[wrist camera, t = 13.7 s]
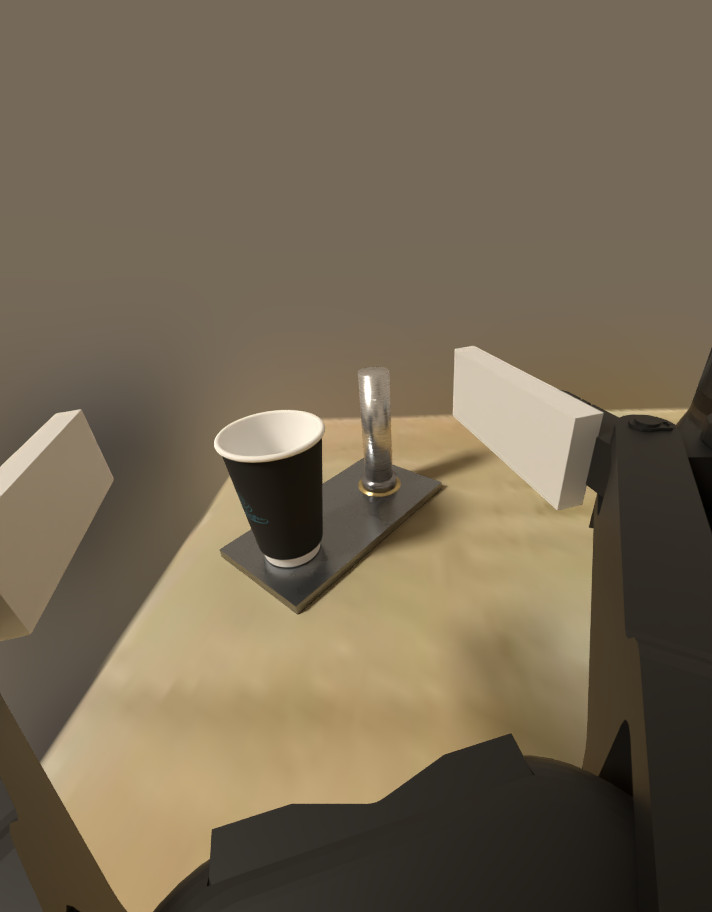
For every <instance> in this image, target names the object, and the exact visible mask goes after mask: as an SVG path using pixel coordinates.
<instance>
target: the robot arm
mask: <svg viewBox="0 0 712 912" xmlns="http://www.w3.org/2000/svg"><path fill="white" fill-rule="evenodd" d="M453 396H454V397H453V416H454V417H455V418H456V419H457V420H458V421H459V422H460V423H462V424H463V425H464V426H465V427H466V428H467V429H468V430H469V431H470V432H471V433H473V434H474V435H475V436H476V437H477V438H478V439H479V440H480V441H481V442H482V443H484V444H485V445H486V446H487V447H488V448H489V449H490V450H491V451H492V452H494V453H495V454H496V455H497V456H498V457H499V458H500V459H501V460H502V461H503V462H505V463H506V464H507V465H508V466H509V467H510V468H511V469H512V470H513V471H514V472H516V473H517V474H518V475H519V476H520V477H521V478H522V479H523V480H524V481H525V482H527V483H528V484H529V485H530V486H531V487H532V488H533V489H534V490H535V491H537V492H538V493H539V494H540V495H541V496H542V497H543V498H544V499H545V500H546V501H548V502H549V503H550V504H551V505H552V506H553V507H554V508H555V509H556V510H561V509H565V508H569V507H574V506H578V505H582V503H583V499H584V495H585V491H586V486H589V487H590V488H591V489H593V490H594V491H595V492H597V497H596V501H595V505H594V509H593V513H592V517H591V521H590V525H589V528H594V533H593V565H592V597H591V628H590V660H589V692H588V724H587V742H586V750H585V755H584V761H583V767H582V769H581V768H578V767H576V766H573V765H571V764H568V763H565V762H561V761H557V760H554V759H550V758H544V757H537V756H523V755H522V753H521V751H520V749H519V747H518V745H517V743H516V741H515V739H514V738H513V736H512V734H511V733H510V734H507V735H504V736H501V737H498V738H495V739H492V740H489V741H486V742H482V743H479V744H476V745H473V746H470V747H467V748H464V749H461V750H458V751H455V752H451V753H448V754H445V755H443V756H442V757H440V758H439V759H438V760H436V761H435V762H433V763H432V764H431V765H429V766H428V767H427V768H425V769H424V770H422V771H421V772H420V773H418V774H417V775H415V776H414V777H413V778H411V779H410V780H408V781H407V782H406V783H404V784H403V785H401V786H400V787H399V788H397V789H396V790H395V791H393V792H392V793H390V794H389V795H388V796H386V797H385V798H383V799H382V800H380V801H378V802H376V803H372V804H290V805H287V806H283V807H280V808H277V809H274V810H271V811H268V812H265V813H262V814H259V815H255V816H252V817H249V818H246V819H243V820H240V821H237V822H234V823H231V824H227V825H224V826H221V827H218V828H215V829H212V836H211V852H210V859H209V860H208V861H206V862H205V863H203V864H202V865H200V866H199V867H198V868H197V869H196V870H194V871H193V872H192V873H191V874H190V875H188V876H187V877H186V878H185V879H184V880H183V881H181V882H180V883H179V884H178V885H177V886H176V887H175V888H174V889H173V890H172V891H171V892H170V894H169V895H168V896H167V897H166V898H165V899H164V900H163V901H162V902H161V903H160V904H159V905H158V906H157V908H156V909H155V910H154V911H153V912H712V348H711V351H710V354H709V356H708V359H707V362H706V365H705V367H704V370H703V373H702V376H701V378H700V381H699V384H698V387H697V390H696V393H695V396H694V398H693V401H692V403H691V406H690V408H689V410H688V411H687V412H686V413H685V414H684V416H683V417H682V418H681V419H680V420H679V422H678V423H677V424H676V425H675V424H673V423H671V422H669V421H667V420H665V419H661V418H658V417H654V416H649V415H626V416H622V417H620V418H619V417H617V416H615V415H613V414H611V413H609V412H607V411H605V410H603V409H601V408H599V407H597V406H595V405H591V404H590V403H589V402H587V401H585V400H583V399H582V400H581V399H580V398H579V397H577V396H575V395H573V394H571V393H569V392H566V391H562V390H559V389H556V388H555V387H553V386H551V385H549V384H547V383H545V382H543V381H541V380H539V379H537V378H535V377H533V376H531V375H529V374H527V373H525V372H523V371H521V370H519V369H518V368H516V367H514V366H512V365H510V364H508V363H506V362H504V361H502V360H500V359H498V358H496V357H494V356H492V355H490V354H488V353H486V352H485V351H482V350H481V349H479V348H477V347H475V346H470V347H464V348H458V349H455V362H454V394H453ZM113 480H114V478H113V476H112V474H111V472H110V470H109V468H108V466H107V463H106V461H105V459H104V457H103V455H102V453H101V451H100V448H99V446H98V444H97V442H96V440H95V438H94V436H93V434H92V431H91V429H90V427H89V425H88V423H87V421H86V418H85V416H84V414H83V412H82V410H74V411H69V412H62V413H56V414H55V415H54V416H53V417H52V418H51V419H50V420H49V421H48V422H47V423H46V424H45V425H44V426H42V427H41V429H39V430H38V431H37V432H36V433H35V434H34V435H33V436H32V437H31V438H30V439H29V440H28V441H27V442H26V443H25V444H24V445H23V446H22V447H21V448H20V449H18V450H17V451H16V452H15V453H14V454H13V455H12V456H11V457H10V458H9V459H8V460H7V461H6V462H5V463H4V464H3V465H2V466H1V467H0V641H4V640H8V639H13V638H17V637H21V636H26V635H29V634H31V633H32V631H33V629H34V627H35V626H36V624H37V622H38V620H39V618H40V616H41V614H42V613H43V611H44V609H45V607H46V605H47V603H48V601H49V599H50V597H51V596H52V594H53V592H54V590H55V588H56V586H57V585H58V583H59V581H60V579H61V577H62V575H63V573H64V571H65V570H66V568H67V566H68V564H69V562H70V560H71V558H72V556H73V555H74V553H75V551H76V549H77V547H78V545H79V543H80V542H81V540H82V538H83V536H84V534H85V532H86V530H87V529H88V527H89V525H90V523H91V521H92V519H93V517H94V516H95V514H96V511H97V510H98V508H99V506H100V504H101V502H102V501H103V499H104V497H105V495H106V493H107V491H108V489H109V487H110V486H111V484H112V482H113ZM0 912H127V911H126V910H125V908H124V907H123V906H122V904H121V903H120V901H119V900H118V899H117V897H116V896H115V894H114V892H113V891H112V889H111V887H110V885H109V884H108V882H107V880H106V878H105V877H104V875H103V873H102V871H101V870H100V868H99V866H98V864H97V863H96V861H95V859H94V857H93V856H92V854H91V852H90V850H89V849H88V847H87V845H86V843H85V842H84V840H83V838H82V836H81V835H80V833H79V831H78V829H77V828H76V826H75V824H74V822H73V820H72V819H71V817H70V815H69V813H68V812H67V810H66V808H65V806H64V805H63V803H62V801H61V799H60V798H59V796H58V794H57V792H56V791H55V789H54V787H53V785H52V784H51V782H50V780H49V778H48V777H47V775H46V773H45V771H44V770H43V768H42V766H41V764H40V763H39V761H38V759H37V757H36V755H35V754H34V752H33V750H32V749H31V747H30V745H29V743H28V742H27V740H26V738H25V736H24V734H23V733H22V731H21V729H20V728H19V726H18V724H17V722H16V720H15V719H14V717H13V715H12V713H11V712H10V710H9V708H8V706H7V705H6V703H5V701H4V699H3V698H2V696H1V694H0Z"/></svg>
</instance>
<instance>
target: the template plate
mask: <svg viewBox="0 0 712 912" xmlns="http://www.w3.org/2000/svg"><path fill="white" fill-rule="evenodd" d="M392 469H393V470H394V471H395V472H396V475H397V485H396V487H395V488H394V489H393V490H391V491H389V492H386V493H371V492H368V491H366V490H365V489H364V488H363V486H362V473H363V472H364V471H365V464H364V458H363V459H361V460H360V461H358V462H356V463H355V464H353V465H352V466H350V467H349V468H347V469H345V470H344V471H342V472H341V473H339V474H338V475H336V476H334V477H333V478H331V479H330V480H328V481H327V482H325V483H323V484H322V499H323V536H322V540H321V542H320V549H319V551H318V553H317V554H316V555H315V556H314V557H313V558H312V559H311V560H309V561H308V562H306V563H304V564H301V565H298V566H294V567H279V566H276V565H273V564H272V563H270V562H269V561H268V560H267V559H266V557H265V555H264V554H263V553H262V552H261V550H260V549H259V546H258V544H257V541H256V539H255V536H254V534H253V531H252V529H251V530H250V531H248V532H246V533H245V534H243V535H242V536H240V537H239V538H237V539H235V540H234V541H232V542H231V543H229V544H228V545H226V546H224V547H223V548H221V549H220V552H221V556H222V557H223V558H224V559H226V560H227V561H228V562H230V563H231V564H232V565H234V566H235V567H236V568H237V569H239V570H240V571H241V572H243V573H244V574H245V575H247V576H248V577H249V578H251V579H252V580H253V581H255V582H256V583H257V584H258V585H260V586H261V587H262V588H264V589H265V590H266V591H268V592H269V593H270V594H272V595H273V596H274V597H275V598H277V599H278V600H279V601H281V602H282V603H283V604H285V605H286V606H287V607H289V608H290V609H291V610H292V611H294V612H295V613H296V614H298V613H300V612H301V611H302V610H303V609H304V608H305V607H306V606H308V605H309V604H310V603H311V602H312V601H313V600H315V599H316V598H317V597H318V596H319V595H320V594H321V593H323V592H324V591H325V590H326V589H327V588H328V587H329V586H331V585H332V584H333V583H334V582H335V581H336V580H337V579H339V578H340V577H341V576H342V575H343V574H344V573H345V572H347V571H348V570H349V569H350V568H351V567H352V566H353V565H355V564H356V563H357V562H358V561H359V560H360V559H361V558H363V557H364V556H365V555H366V554H367V553H368V552H369V551H371V550H372V549H373V548H374V547H375V546H376V545H377V544H379V543H380V542H381V541H382V540H383V539H384V538H385V537H387V536H388V535H389V534H390V533H391V532H392V531H394V530H395V529H396V528H397V527H398V526H399V525H400V524H402V523H403V522H404V521H405V520H406V519H407V518H408V517H410V516H411V515H412V514H413V513H414V512H415V511H416V510H418V509H419V508H420V507H421V506H422V505H423V504H424V503H426V502H427V501H428V500H429V499H430V498H431V497H432V496H434V495H435V494H436V493H437V492H438V491H439V490H440V489H441V485H442V482H440V481H437V480H434V479H431V478H428V477H426V476H423V475H420V474H417V473H414V472H412V471H409V470H406V469H403V468H400V467H398V466H395V465H392Z"/></svg>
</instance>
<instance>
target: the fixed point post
mask: <svg viewBox="0 0 712 912" xmlns="http://www.w3.org/2000/svg"><path fill="white" fill-rule="evenodd" d="M358 379H359V392H360V393H359V394H360V408H361V422H362V436H363V450H364V464H365V471H364V472H363V473H362V486H363V488H364V489H365V490H366V491H368V492H371V493H386V492H389V491H391V490H393V489H394V488H395V487H396V485H397V475H396V472H395V471H394V470H393V469H392V441H391V412H390V381H389V370H388V369H387V368H383V367H368V368H364V369H361V370H360V371H358Z"/></svg>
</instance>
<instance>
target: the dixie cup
mask: <svg viewBox="0 0 712 912" xmlns="http://www.w3.org/2000/svg"><path fill="white" fill-rule="evenodd" d="M324 432H325V425H324V423H323V421H322V420H321V419H320V418H319V417H317V416H315V415H313V414H311V413H308V412H303V411H297V410H277V411H269V412H264V413H258V414H254V415H250V416H247V417H245V418H242V419H239V420H237V421H235V422H233V423H231V424H229V425H228V426H226V427H225V428H223V429H222V430H221V431H220V432H219V433H218V435H217V436H216V438H215V440H214V447H215V449H216V451H217V452H218V453H219V454H220V455H221V456H222V457H223V459H224V462H225V464H226V467H227V469H228V472H229V474H230V477H231V479H232V482H233V484H234V487H235V489H236V492H237V494H238V497H239V499H240V502H241V504H242V507H243V509H244V512H245V514H246V517H247V519H248V521H249V524H250V526H251V529H252V531H253V534H254V536H255V539H256V541H257V544H258V546H259V549H260V550H261V552H262V553H263V554H264V555H265V557H266V559H267V560H268V561H269V562H270V563H272V564H273V565H276V566H279V567H294V566H298V565H301V564H304V563H306V562H308V561H309V560H311V559H312V558H313V557H314V556H315V555H316V554H317V553H318V551H319V549H320V542H321V540H322V536H323V499H322V437H323V435H324Z"/></svg>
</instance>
